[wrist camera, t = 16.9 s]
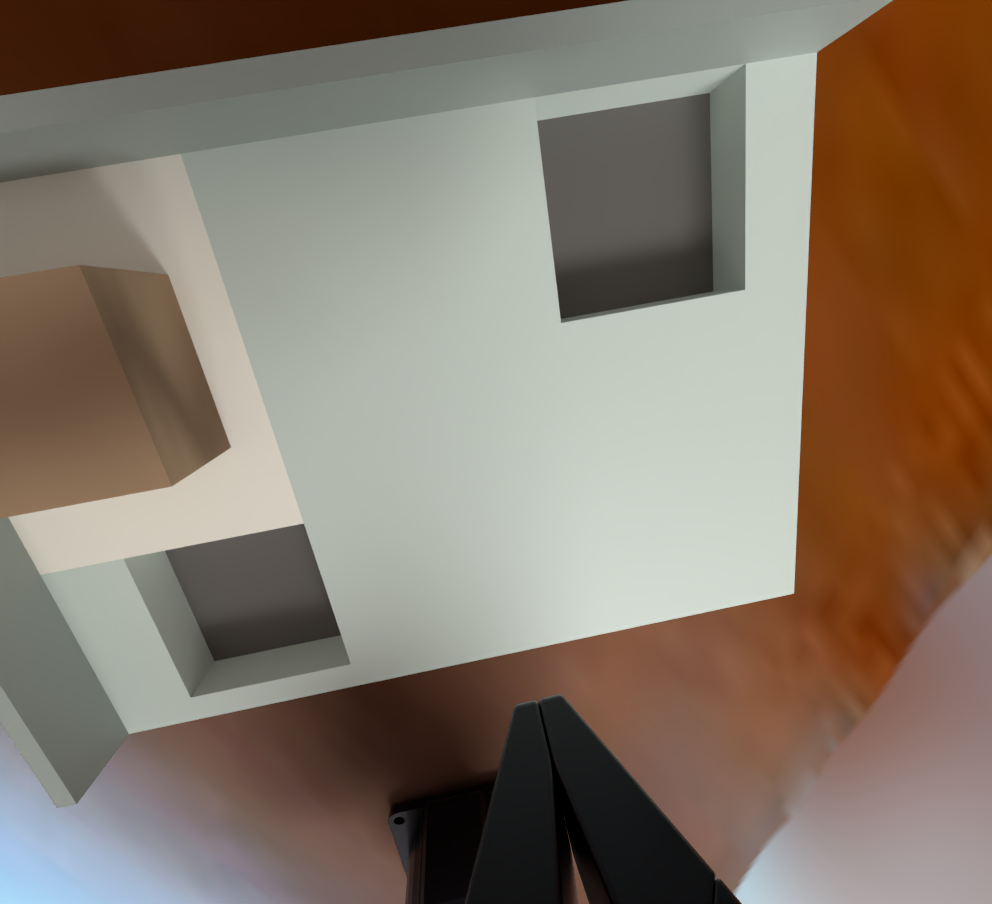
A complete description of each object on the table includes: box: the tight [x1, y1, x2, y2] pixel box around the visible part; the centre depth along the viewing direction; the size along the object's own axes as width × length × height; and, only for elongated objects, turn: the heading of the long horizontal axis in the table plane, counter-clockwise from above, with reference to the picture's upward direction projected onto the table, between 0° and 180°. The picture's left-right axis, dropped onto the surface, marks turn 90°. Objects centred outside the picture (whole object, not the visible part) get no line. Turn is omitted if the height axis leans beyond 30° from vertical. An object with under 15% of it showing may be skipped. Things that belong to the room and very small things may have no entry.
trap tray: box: [0, 0, 892, 808], centre depth 14 cm, size 18×26×4 cm
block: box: [0, 265, 231, 518], centre depth 12 cm, size 5×5×3 cm
